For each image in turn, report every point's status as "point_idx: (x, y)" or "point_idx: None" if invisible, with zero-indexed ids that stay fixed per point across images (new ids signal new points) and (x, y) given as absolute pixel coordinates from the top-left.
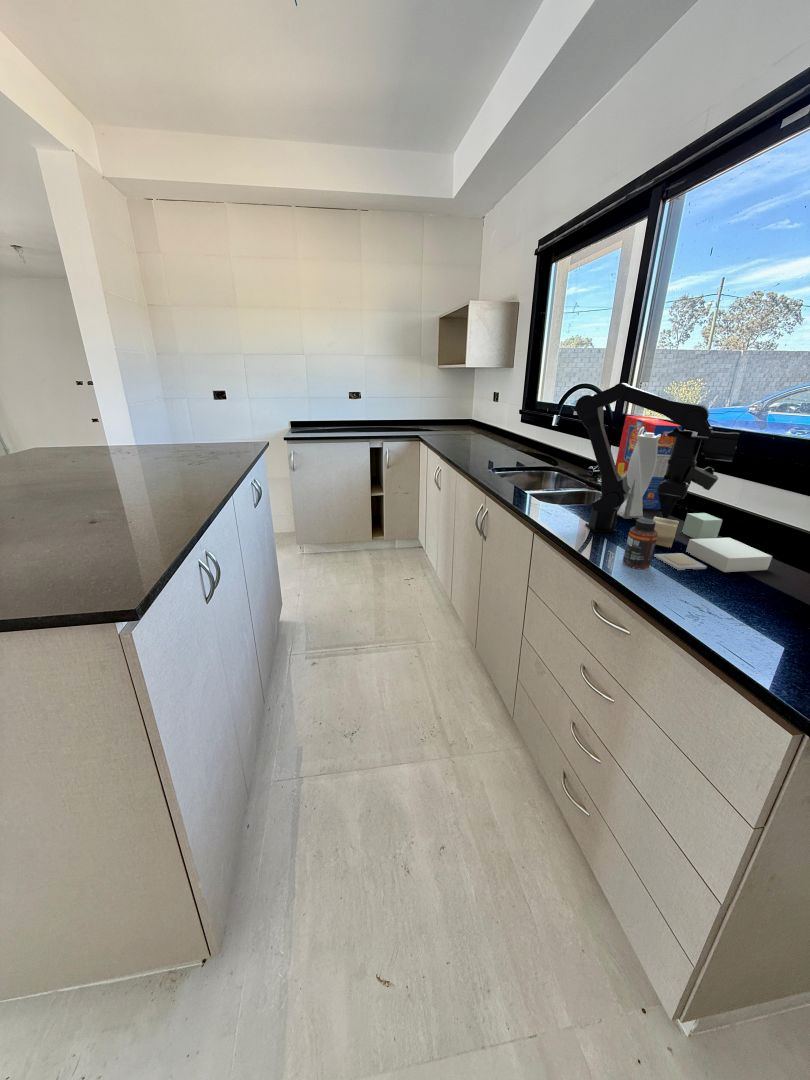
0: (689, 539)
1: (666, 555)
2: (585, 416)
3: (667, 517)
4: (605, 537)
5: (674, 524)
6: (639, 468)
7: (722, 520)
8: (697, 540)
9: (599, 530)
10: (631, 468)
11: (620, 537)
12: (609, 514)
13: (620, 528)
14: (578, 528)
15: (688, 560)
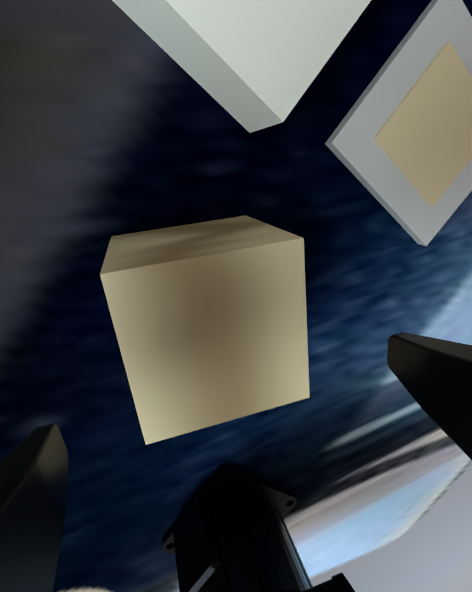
0: (281, 122)
1: (411, 198)
2: None
3: (409, 335)
4: (320, 451)
5: (244, 273)
6: None
7: None
8: (273, 61)
9: (284, 500)
10: None
11: (276, 422)
12: (296, 574)
13: (144, 483)
14: None
15: (432, 88)
